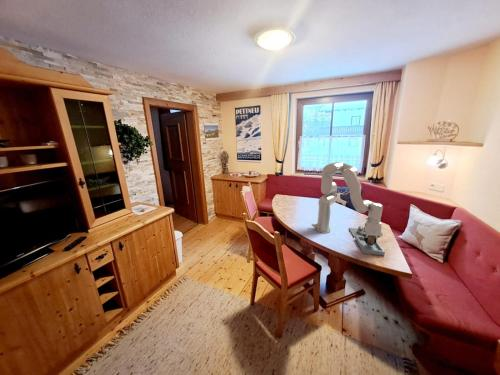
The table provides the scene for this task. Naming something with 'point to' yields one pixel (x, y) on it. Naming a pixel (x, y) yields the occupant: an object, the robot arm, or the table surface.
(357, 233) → the crank base
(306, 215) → the table surface
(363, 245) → the tray
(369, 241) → the block
